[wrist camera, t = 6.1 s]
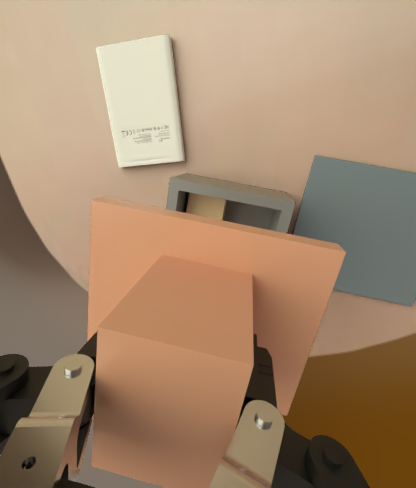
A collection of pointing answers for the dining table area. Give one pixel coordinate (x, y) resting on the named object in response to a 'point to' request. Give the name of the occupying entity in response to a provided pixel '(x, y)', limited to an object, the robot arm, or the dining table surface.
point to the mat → (364, 225)
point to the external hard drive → (142, 100)
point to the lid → (192, 332)
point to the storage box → (230, 202)
